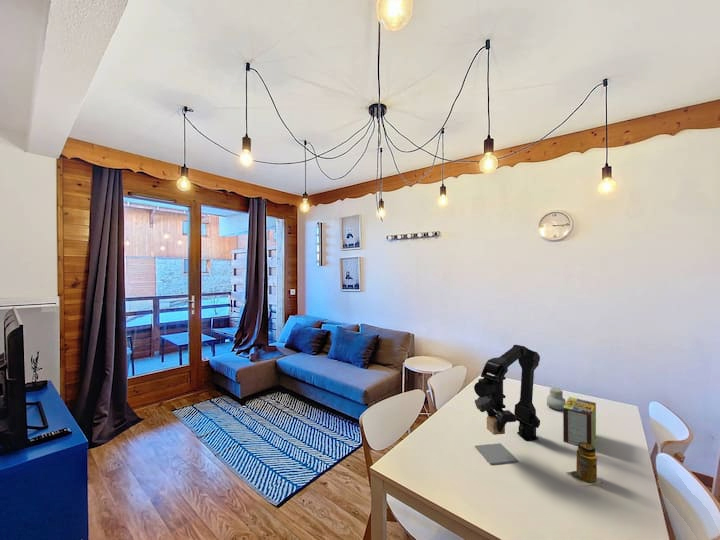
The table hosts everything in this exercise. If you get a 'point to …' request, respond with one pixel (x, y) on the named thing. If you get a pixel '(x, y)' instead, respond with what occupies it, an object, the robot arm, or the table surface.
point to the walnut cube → (493, 426)
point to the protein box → (579, 421)
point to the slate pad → (496, 453)
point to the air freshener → (556, 399)
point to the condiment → (586, 465)
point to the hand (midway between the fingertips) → (495, 428)
